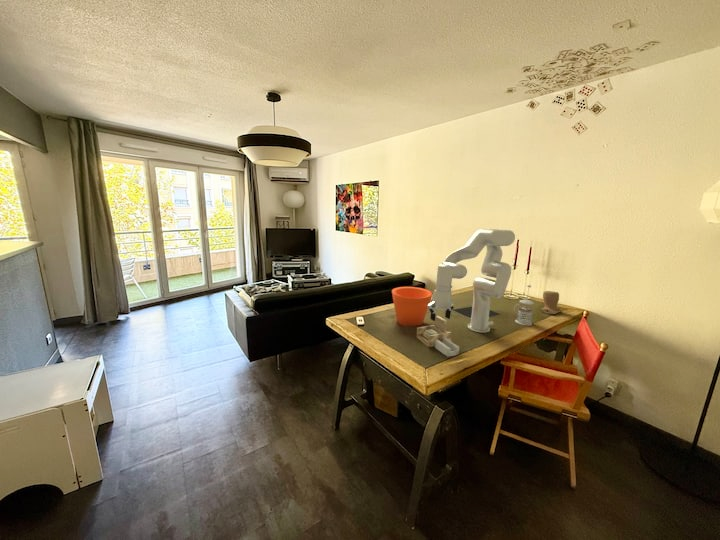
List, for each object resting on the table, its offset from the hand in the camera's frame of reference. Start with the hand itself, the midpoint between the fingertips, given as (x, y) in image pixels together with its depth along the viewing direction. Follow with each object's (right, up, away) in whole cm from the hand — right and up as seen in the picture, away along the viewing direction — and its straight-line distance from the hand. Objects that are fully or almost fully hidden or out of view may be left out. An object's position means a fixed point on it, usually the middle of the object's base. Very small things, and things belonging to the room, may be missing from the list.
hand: (440, 319), depth 143 cm
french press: (+62, -8, +31) cm, 70 cm away
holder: (0, -15, -9) cm, 18 cm away
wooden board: (0, -11, +3) cm, 12 cm away
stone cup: (+94, -4, +51) cm, 108 cm away
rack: (-3, -13, +2) cm, 13 cm away
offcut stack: (-5, -12, 0) cm, 13 cm away
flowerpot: (-11, -7, +28) cm, 31 cm away
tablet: (+39, -4, +47) cm, 62 cm away
